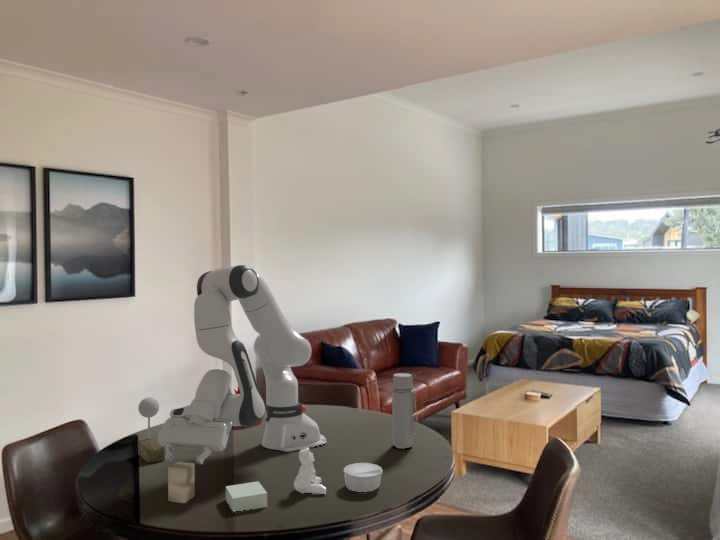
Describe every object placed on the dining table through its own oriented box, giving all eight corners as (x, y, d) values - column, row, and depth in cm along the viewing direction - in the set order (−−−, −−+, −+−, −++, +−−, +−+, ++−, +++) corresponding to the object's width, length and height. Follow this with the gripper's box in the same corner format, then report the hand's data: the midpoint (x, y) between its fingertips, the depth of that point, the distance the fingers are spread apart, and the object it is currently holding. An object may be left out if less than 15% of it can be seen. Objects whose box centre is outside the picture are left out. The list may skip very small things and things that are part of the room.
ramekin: (369, 498, 162) (369, 479, 162) (335, 490, 168) (335, 471, 168) (389, 485, 172) (389, 467, 172) (356, 477, 178) (356, 460, 178)
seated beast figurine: (327, 495, 164) (327, 451, 164) (296, 498, 162) (296, 454, 162) (320, 482, 173) (320, 441, 173) (290, 486, 171) (290, 444, 171)
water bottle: (388, 449, 204) (388, 376, 204) (395, 442, 211) (396, 372, 211) (414, 452, 201) (414, 378, 200) (421, 445, 208) (421, 374, 207)
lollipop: (163, 437, 218) (163, 396, 218) (150, 442, 211) (150, 400, 211) (147, 435, 220) (147, 394, 220) (134, 440, 213) (133, 398, 213)
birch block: (178, 494, 165) (178, 461, 165) (194, 496, 164) (194, 463, 164) (168, 501, 160) (168, 468, 160) (185, 503, 159) (184, 469, 159)
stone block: (147, 464, 189) (147, 449, 189) (137, 455, 198) (137, 440, 198) (165, 461, 192) (165, 445, 192) (155, 452, 202) (154, 437, 202)
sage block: (258, 495, 165) (258, 481, 165) (267, 508, 157) (267, 492, 156) (225, 501, 161) (225, 486, 161) (232, 514, 153) (232, 498, 153)
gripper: (237, 425, 173) (221, 470, 164) (174, 421, 178) (155, 464, 169) (230, 414, 169) (213, 459, 159) (166, 409, 174) (146, 453, 164)
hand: (183, 461), depth 164 cm, fingers open, 8 cm apart
